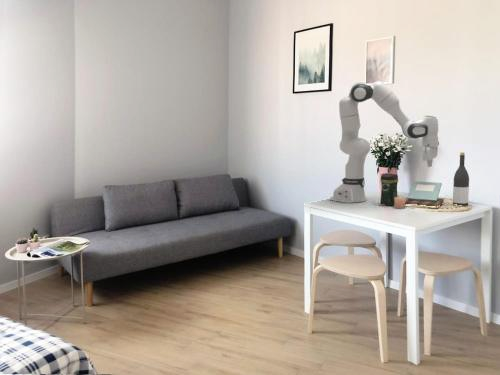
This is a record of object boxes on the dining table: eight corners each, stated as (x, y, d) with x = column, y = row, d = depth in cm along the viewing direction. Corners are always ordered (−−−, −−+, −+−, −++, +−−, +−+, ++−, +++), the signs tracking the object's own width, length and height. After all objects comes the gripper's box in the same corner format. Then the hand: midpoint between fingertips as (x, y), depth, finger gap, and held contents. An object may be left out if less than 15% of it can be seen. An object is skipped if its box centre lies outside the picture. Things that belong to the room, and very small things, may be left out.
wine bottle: (458, 206, 261) (460, 153, 256) (449, 203, 269) (451, 152, 264) (471, 205, 263) (473, 152, 258) (462, 202, 271) (464, 151, 266)
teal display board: (407, 199, 269) (407, 197, 268) (413, 182, 277) (413, 181, 276) (436, 201, 260) (436, 199, 259) (441, 184, 268) (441, 182, 267)
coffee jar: (400, 204, 271) (400, 173, 268) (391, 206, 267) (392, 174, 264) (386, 202, 279) (387, 171, 276) (378, 204, 275) (378, 173, 272)
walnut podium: (404, 206, 267) (404, 193, 266) (411, 201, 280) (412, 188, 279) (436, 209, 257) (437, 195, 256) (443, 203, 270) (443, 190, 269)
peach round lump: (392, 208, 263) (393, 197, 262) (395, 206, 268) (396, 196, 267) (403, 209, 260) (403, 198, 259) (406, 207, 265) (406, 196, 264)
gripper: (431, 145, 264) (430, 169, 266) (439, 141, 280) (439, 164, 282) (419, 145, 267) (419, 168, 269) (428, 141, 284) (428, 164, 286)
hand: (429, 166), depth 276 cm, fingers closed
